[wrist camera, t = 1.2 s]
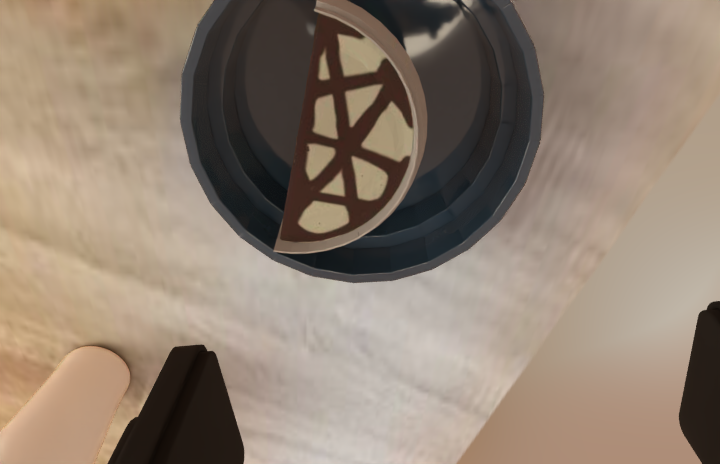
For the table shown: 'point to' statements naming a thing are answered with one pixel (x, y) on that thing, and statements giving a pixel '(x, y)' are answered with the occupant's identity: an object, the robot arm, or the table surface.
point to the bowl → (444, 125)
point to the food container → (352, 132)
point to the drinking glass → (68, 411)
